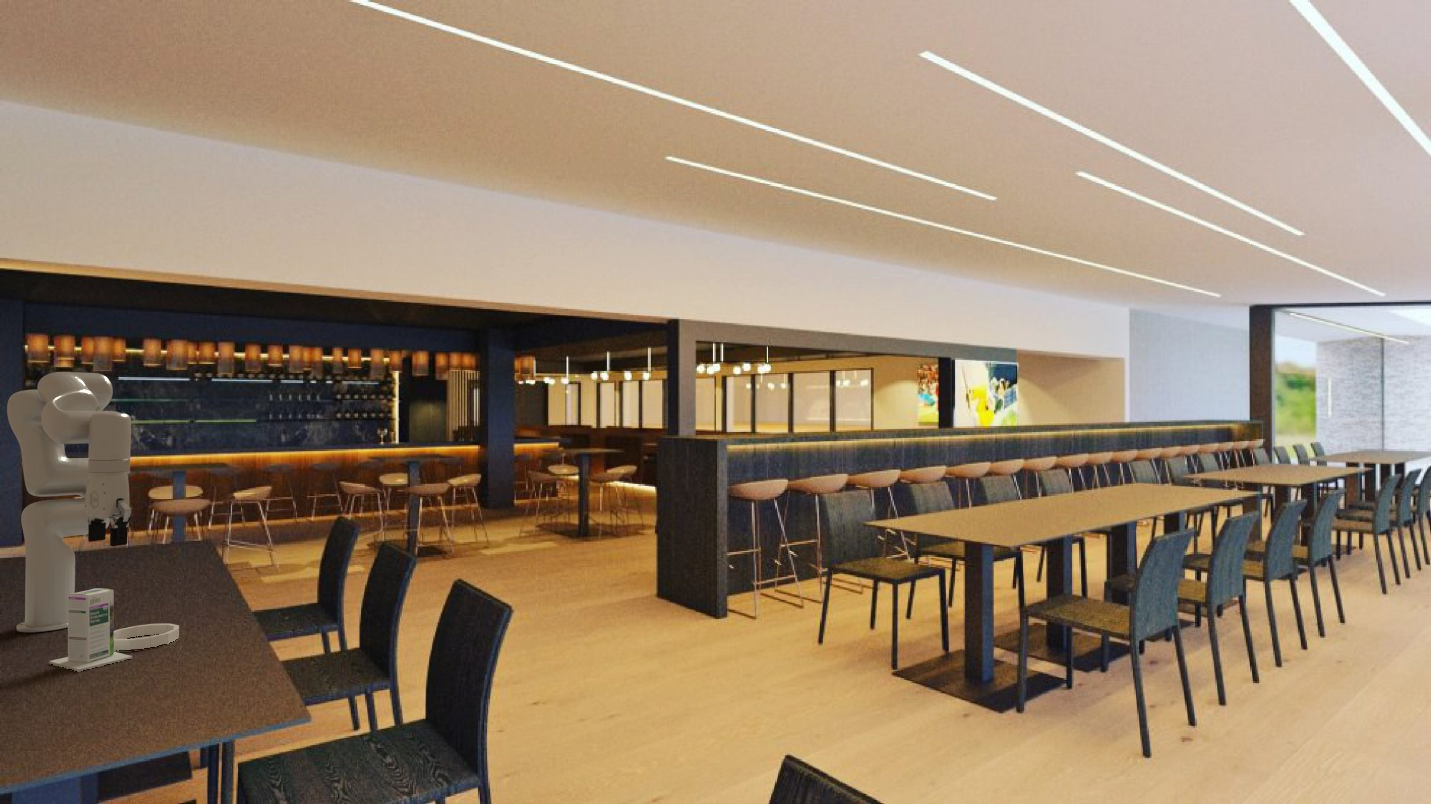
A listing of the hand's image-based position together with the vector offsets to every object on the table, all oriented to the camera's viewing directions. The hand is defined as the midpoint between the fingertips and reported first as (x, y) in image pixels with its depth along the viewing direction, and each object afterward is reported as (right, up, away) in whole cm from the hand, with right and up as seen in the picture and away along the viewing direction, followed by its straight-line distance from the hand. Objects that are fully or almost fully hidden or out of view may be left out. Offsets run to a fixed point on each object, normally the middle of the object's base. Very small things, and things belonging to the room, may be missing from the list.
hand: (107, 543), depth 178 cm
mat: (+3, -24, -8) cm, 26 cm away
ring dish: (+3, -24, +6) cm, 25 cm away
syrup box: (+2, -24, -8) cm, 25 cm away
